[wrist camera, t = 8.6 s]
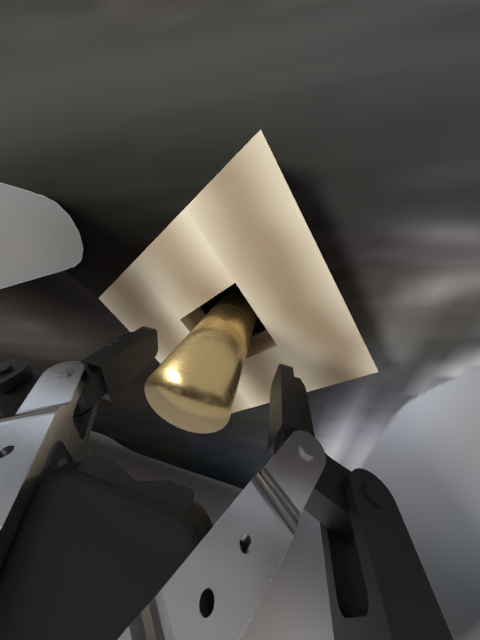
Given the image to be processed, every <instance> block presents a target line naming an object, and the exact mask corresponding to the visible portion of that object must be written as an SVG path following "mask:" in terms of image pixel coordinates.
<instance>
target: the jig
mask: <svg viewBox="0 0 480 640" xmlns="http://www.w3.org/2000/svg"><path fill="white" fill-rule="evenodd" d="M234 283H236V285H237V286H238V288H239V289H240V291H241V292H242V294H243V295H244V297H245V298H246V300H247V301H248V303H249V304H250V306H251V307H252V309H253V310H254V312H255V313H256V314H257V316H258V317H259V319H260V320H261V322H262V323H263V325H264V326H265V328H266V330H264V331H262V332H260V333H258V334H256V335H254V336H252V337H251V340H250V344H249V348H248V351H247V355H246V359H245V362H244V366H243V370H242V374H241V377H240V381H239V385H238V388H237V392H236V396H235V400H234V403H233V407H232V411H231V413H234V412H238V411H241V410H245V409H248V408H252V407H256V406H259V405H263V404H266V403H270V391H271V385H272V381H273V379H274V376H275V373H276V371H277V368H278V366H279V364H284V365H288V366H291V367H293V371H294V377H297V378H300V379H301V380H302V382H303V384H304V385H305V387H306V392H309V391H313V390H316V389H320V388H323V387H327V386H330V385H334V384H338V383H341V382H345V381H348V380H352V379H355V378H359V377H362V376H366V375H370V374H373V373H377V372H378V370H377V368H376V366H375V364H374V362H373V359H372V357H371V355H370V353H369V351H368V349H367V347H366V345H365V343H364V341H363V339H362V337H361V335H360V333H359V331H358V329H357V327H356V325H355V322H354V320H353V318H352V316H351V314H350V312H349V310H348V308H347V306H346V304H345V302H344V300H343V298H342V296H341V294H340V292H339V290H338V287H337V285H336V283H335V281H334V279H333V277H332V275H331V273H330V271H329V269H328V267H327V265H326V263H325V261H324V259H323V257H322V255H321V253H320V250H319V248H318V246H317V244H316V242H315V240H314V238H313V236H312V234H311V232H310V230H309V228H308V226H307V224H306V222H305V220H304V218H303V216H302V213H301V211H300V209H299V207H298V205H297V203H296V201H295V199H294V197H293V195H292V193H291V191H290V189H289V187H288V185H287V183H286V181H285V179H284V176H283V174H282V172H281V170H280V168H279V166H278V164H277V162H276V160H275V158H274V156H273V154H272V152H271V150H270V148H269V146H268V144H267V141H266V139H265V137H264V135H263V133H262V131H261V130H260V131H259V132H258V133H257V134H256V135H255V136H254V137H253V138H252V139H251V140H250V141H249V142H248V143H247V144H246V145H245V146H244V147H243V148H242V149H241V150H240V152H239V153H238V154H237V155H236V156H235V157H234V158H233V159H232V160H231V161H230V162H229V163H228V164H227V165H226V166H225V167H224V168H223V169H222V170H221V171H220V172H219V173H218V174H217V175H216V177H215V178H214V179H213V180H212V181H211V182H210V183H209V184H208V185H207V186H206V187H205V188H204V189H203V190H202V191H201V192H200V193H199V194H198V195H197V196H196V197H195V198H194V199H193V200H192V201H191V203H190V204H189V205H188V206H187V207H186V208H185V209H184V210H183V211H182V212H181V213H180V214H179V215H178V216H177V217H176V218H175V219H174V220H173V221H172V222H171V223H170V224H169V225H168V226H167V228H166V229H165V230H164V231H163V232H162V233H161V234H160V235H159V236H158V237H157V238H156V239H155V240H154V241H153V242H152V243H151V244H150V245H149V246H148V247H147V248H146V249H145V250H144V251H143V253H142V254H141V255H140V256H139V257H138V258H137V259H136V260H135V261H134V262H133V263H132V264H131V265H130V266H129V267H128V268H127V269H126V270H125V271H124V272H123V273H122V274H121V275H120V276H119V277H118V279H117V280H116V281H115V282H114V283H113V284H112V285H111V286H110V287H109V288H108V289H107V290H106V291H105V292H104V293H103V294H102V295H101V296H100V297H99V299H100V300H101V301H102V303H103V304H104V305H105V306H106V307H107V308H108V309H109V310H110V311H111V312H112V313H113V314H114V315H115V316H116V317H117V318H118V319H119V320H120V321H121V323H122V324H123V325H124V326H125V327H126V328H127V329H128V330H129V331H130V332H132V331H133V332H134V331H136V330H137V329H139V328H140V327H142V326H146V327H150V328H153V329H156V330H157V336H158V353H157V355H156V357H155V358H156V359H157V360H158V361H159V363H160V364H161V363H162V362H163V361H164V360H165V359H166V358H167V357H168V356H169V355H170V354H171V352H172V351H173V350H174V349H175V348H176V347H177V346H178V345H179V344H180V343H181V342H182V341H183V339H184V338H185V337H186V336H187V335H188V334H189V333H190V332H191V331H192V330H193V329H194V328H195V326H196V325H197V324H198V323H199V322H200V321H201V320H202V319H203V318H204V317H205V316H206V314H205V313H204V312H203V310H202V309H201V308H200V306H201V305H203V304H204V303H206V302H207V301H209V300H210V299H212V298H213V297H215V296H216V295H218V294H219V293H221V292H222V291H224V290H225V289H227V288H228V287H230V286H231V285H233V284H234Z"/></svg>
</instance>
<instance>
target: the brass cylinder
mask: <svg viewBox="0 0 480 640" xmlns="http://www.w3.org/2000/svg"><path fill="white" fill-rule="evenodd" d="M256 317H257V314H256V313H255V312H254V310H253V309H252V307H251V306H250V304H249V303H248V301H247V300H246V298H245V297H244V295H241V294H228V295H226V296H224V297H223V298H221V299H220V300H219V302H218V303H217V304H216V305H215V306H214V307H213V308H212V309H211V310H210V311H209V312H208V313H207V315H206V316H205V317H204V318H203V319H202V320H201V321H200V322H199V323H198V324H197V325H196V326H195V328H194V329H193V330H192V331H191V332H190V333H189V334H188V335H187V336H186V337H185V338H184V339H183V341H182V342H181V343H180V344H179V345H178V346H177V347H176V348H175V349H174V350H173V351H172V352H171V354H170V355H169V356H168V357H167V358H166V359H165V360H164V361H163V362H162V363H161V364H160V365H159V367H158V368H157V369H156V370H155V371H154V372H153V373H152V374H151V375H150V376H149V377H148V379H147V380H146V383H145V395H146V398H147V400H148V402H149V404H150V405H151V407H152V408H153V409H154V411H155V412H156V413H157V414H158V415H160V416H161V417H162V418H163V419H165V420H166V421H167V422H169V423H171V424H172V425H174V426H176V427H178V428H181V429H183V430H186V431H190V432H195V433H213V432H216V431H219V430H221V429H222V428H224V427H225V426H226V425H227V423H228V421H229V418H230V415H231V411H232V407H233V403H234V400H235V396H236V392H237V388H238V385H239V381H240V377H241V374H242V370H243V366H244V362H245V359H246V355H247V351H248V348H249V344H250V340H251V336H252V333H253V329H254V325H255V321H256Z"/></svg>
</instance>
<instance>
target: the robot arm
mask: <svg viewBox="0 0 480 640" xmlns="http://www.w3.org/2000/svg"><path fill="white" fill-rule="evenodd" d="M157 353H158V336H157V330H156V329H153V328H150V327H146V326H142V327H140V328H139V329H137V330H136V331H134V332H133V331H132V332H130V333H127V334H124V335H122V336H120V337H119V338H117V339H116V340H115V341H112V342H111V343H109V345H106V346H105V347H103V348H101V349H100V350H98V351H97V352H95V353H93V354H92V355H90V356H89V357H87V358H86V359H84V360H82V361H81V362H78V361H69V362H64V363H60V364H57V365H55V366H53V367H51V368H49V369H30V367H29V366H28V364H27V362H26V361H25V360H21V359H11V360H5V361H1V362H0V640H242V638H243V636H244V634H245V632H246V630H247V628H248V626H249V624H250V622H251V620H252V618H253V616H254V614H255V612H256V610H257V608H258V606H259V604H260V602H261V600H262V598H263V596H264V594H265V592H266V590H267V588H268V586H269V584H270V582H271V580H272V578H273V576H274V574H275V572H276V570H277V568H278V566H279V564H280V562H281V560H282V558H283V556H284V554H285V552H286V550H287V548H288V546H289V544H290V542H291V540H292V538H293V536H294V533H295V531H296V529H297V525H298V519H299V516H300V514H301V512H302V510H303V508H304V509H305V510H306V511H307V512H309V513H310V514H311V515H312V516H313V517H315V518H316V519H317V520H318V521H319V522H320V526H321V534H322V543H323V550H324V558H325V567H326V575H327V583H328V591H329V600H330V607H331V616H332V624H333V633H334V640H453V638H452V636H451V633H450V631H449V629H448V626H447V624H446V621H445V619H444V617H443V614H442V612H441V609H440V607H439V605H438V602H437V600H436V597H435V595H434V593H433V590H432V588H431V586H430V583H429V581H428V578H427V576H426V574H425V571H424V569H423V566H422V564H421V562H420V560H419V557H418V554H417V552H416V550H415V547H414V545H413V543H412V540H411V538H410V535H409V533H408V531H407V528H406V526H405V523H404V521H403V519H402V516H401V514H400V512H399V509H398V507H397V504H396V502H395V500H394V498H393V496H392V494H391V493H390V491H389V490H388V488H387V487H386V486H385V485H384V484H383V483H382V481H381V480H379V479H378V478H377V477H376V476H375V475H374V474H372V473H371V472H369V471H367V470H364V469H360V468H358V469H355V470H353V471H352V472H351V471H349V470H348V469H346V468H345V467H343V466H342V465H340V464H339V463H337V462H336V461H334V460H333V459H332V458H330V457H329V456H328V455H327V454H326V453H325V452H324V449H323V447H322V446H321V444H320V443H319V441H318V440H317V439H316V438H315V435H314V431H313V425H312V420H311V414H310V409H309V404H308V398H307V393H306V387H305V385H304V384H303V382H302V380H301V379H300V378H297V377H294V371H293V367H291V366H288V365H284V364H279V366H278V368H277V371H276V373H275V376H274V379H273V381H272V385H271V391H270V410H269V431H268V452H267V453H270V454H273V455H274V456H273V457H272V459H271V460H270V461H269V462H268V464H267V465H266V466H265V467H264V468H263V470H262V471H260V472H258V473H257V474H256V475H255V477H254V478H253V479H252V480H251V481H250V482H249V484H248V485H247V486H246V487H245V489H244V490H243V491H242V492H241V493H240V495H239V496H238V497H237V498H236V499H235V501H234V502H233V503H232V504H231V505H230V507H229V508H228V509H227V510H226V512H225V513H224V514H223V515H222V516H221V518H220V519H219V520H218V521H217V523H216V524H215V525H214V526H213V525H212V522H211V520H210V518H209V516H208V515H207V513H206V511H205V510H204V508H203V507H202V506H201V505H200V504H199V503H198V502H197V501H196V500H195V493H196V491H195V490H193V489H190V488H187V487H185V486H182V485H179V484H176V483H174V482H171V481H137V480H135V479H133V478H132V477H131V476H130V475H129V474H128V473H127V472H126V471H125V470H124V469H123V468H122V467H121V466H120V465H119V464H118V463H117V462H116V461H113V460H110V459H108V458H105V457H102V456H99V455H97V454H94V453H90V454H89V455H88V452H87V444H88V440H89V436H90V432H91V429H92V425H93V421H94V417H95V414H96V410H97V406H98V404H97V402H98V401H99V400H100V399H101V398H104V399H107V400H110V401H111V400H112V399H113V398H114V397H115V396H116V395H117V394H118V393H119V392H120V391H121V390H122V389H123V388H124V387H125V386H126V385H127V384H128V383H129V382H130V381H131V380H132V379H133V378H134V377H135V376H137V375H138V374H139V373H140V372H141V371H142V370H143V369H144V368H145V367H146V366H147V365H148V364H149V363H150V362H151V361H152V360H153V359H154V358H155V357H156V355H157Z"/></svg>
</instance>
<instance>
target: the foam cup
mask: <svg viewBox="0 0 480 640" xmlns="http://www.w3.org/2000/svg"><path fill="white" fill-rule="evenodd" d="M82 254H83V245H82V241H81V236H80V233H79V231H78V229H77V227H76V226H75V224H74V222H73V220H72V219H71V217H70V215H69V214H68V213H67V212H66V211H65V210H64V209H63V208H62V207H61V206H60V205H59V204H58V203H57V202H55V201H53V200H51V199H49V198H47V197H45V196H43V195H39V194H35V193H33V192H31V191H27V190H24V189H21V188H17V187H14V186H10V185H7V184H4V183H0V289H2V288H6V287H9V286H13V285H16V284H19V283H23V282H26V281H30V280H33V279H37V278H40V277H43V276H47V275H50V274H54V273H57V272H61V271H64V270H67V269H69V268H73V267H75V266H76V265H77V264H79V263H80V262H81V260H82Z"/></svg>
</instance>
